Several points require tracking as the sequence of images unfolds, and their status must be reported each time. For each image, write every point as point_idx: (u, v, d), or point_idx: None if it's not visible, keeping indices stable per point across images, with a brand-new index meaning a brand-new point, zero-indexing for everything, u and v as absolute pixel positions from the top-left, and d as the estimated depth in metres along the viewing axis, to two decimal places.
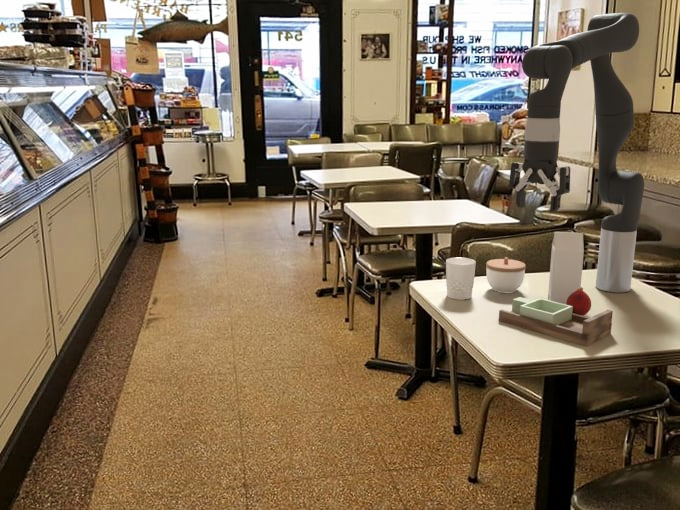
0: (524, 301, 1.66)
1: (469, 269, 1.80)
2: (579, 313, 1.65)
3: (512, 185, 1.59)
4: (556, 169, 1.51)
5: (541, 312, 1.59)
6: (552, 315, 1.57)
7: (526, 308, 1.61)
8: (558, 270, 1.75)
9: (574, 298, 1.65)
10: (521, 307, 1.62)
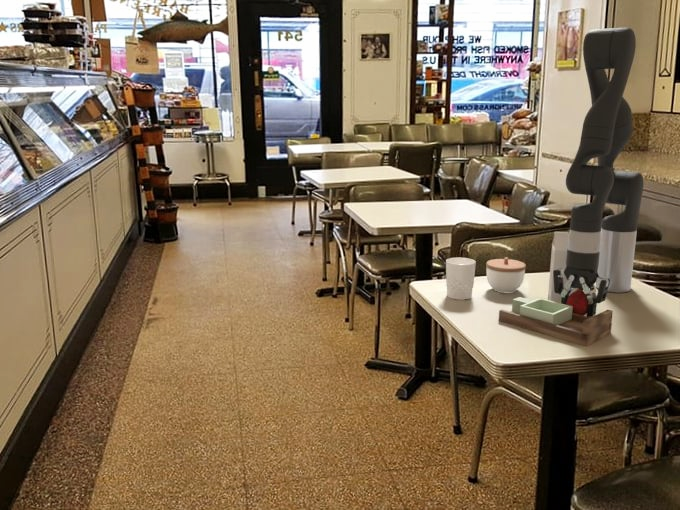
0: (524, 301, 1.66)
1: (469, 269, 1.80)
2: (579, 313, 1.65)
3: (557, 290, 1.69)
4: (597, 279, 1.62)
5: (541, 312, 1.59)
6: (552, 315, 1.57)
7: (526, 308, 1.61)
8: None
9: (574, 298, 1.65)
10: (521, 307, 1.62)
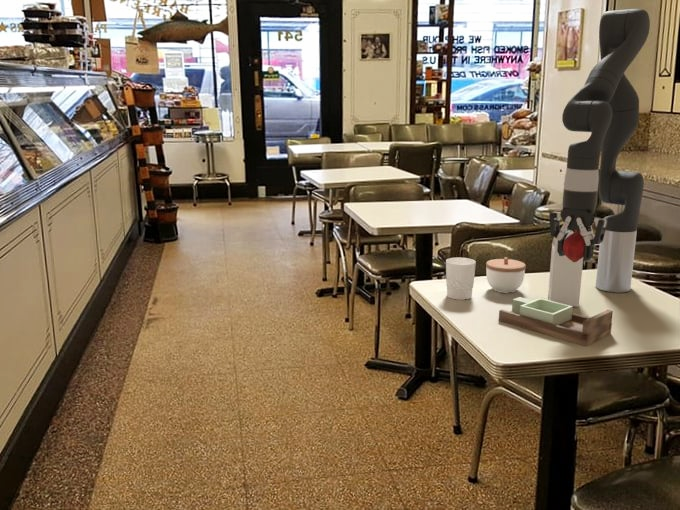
0: (524, 301, 1.66)
1: (469, 269, 1.80)
2: (576, 256, 1.60)
3: (554, 234, 1.64)
4: (594, 219, 1.57)
5: (541, 312, 1.59)
6: (552, 315, 1.57)
7: (526, 308, 1.61)
8: (558, 270, 1.75)
9: (571, 240, 1.60)
10: (521, 307, 1.62)
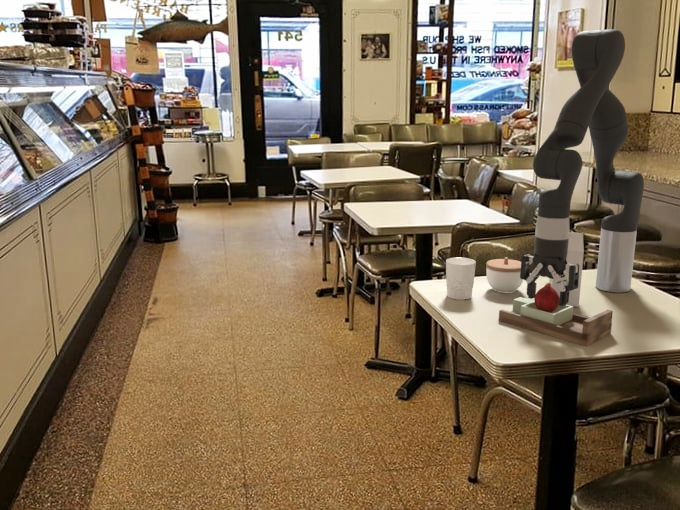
0: (525, 301, 1.66)
1: (469, 269, 1.80)
2: (547, 309, 1.60)
3: (523, 277, 1.64)
4: (566, 266, 1.56)
5: (542, 312, 1.58)
6: (553, 315, 1.56)
7: (527, 308, 1.61)
8: None
9: (542, 294, 1.60)
10: (522, 307, 1.62)
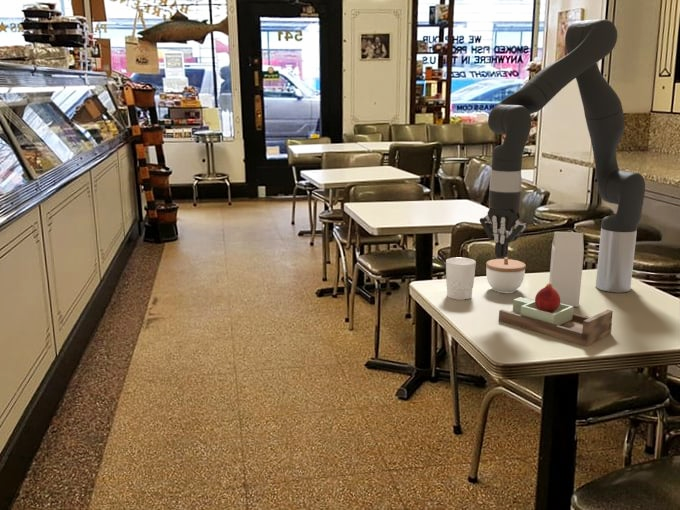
0: (525, 301, 1.66)
1: (469, 269, 1.80)
2: (548, 310, 1.60)
3: (491, 236, 1.69)
4: (516, 221, 1.64)
5: (542, 312, 1.58)
6: (553, 315, 1.56)
7: (527, 308, 1.61)
8: (558, 270, 1.75)
9: (543, 295, 1.60)
10: (522, 307, 1.62)
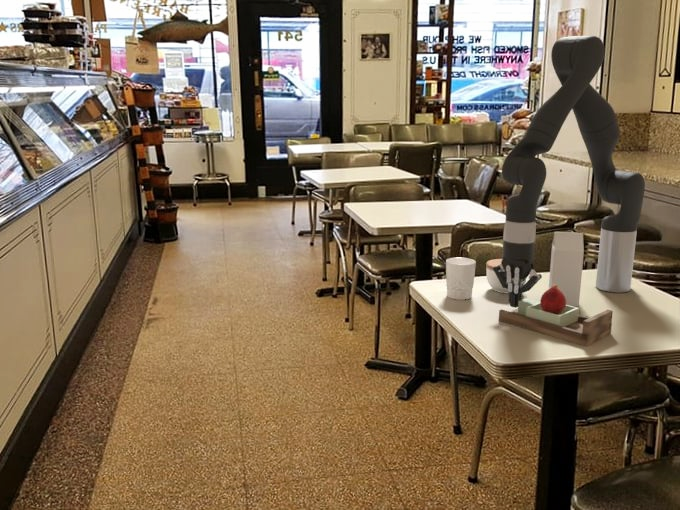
0: (530, 303, 1.65)
1: (469, 269, 1.80)
2: (553, 312, 1.59)
3: (505, 285, 1.69)
4: (530, 271, 1.63)
5: (547, 314, 1.57)
6: (559, 317, 1.55)
7: (532, 310, 1.60)
8: (558, 270, 1.75)
9: (548, 296, 1.59)
10: (527, 309, 1.61)
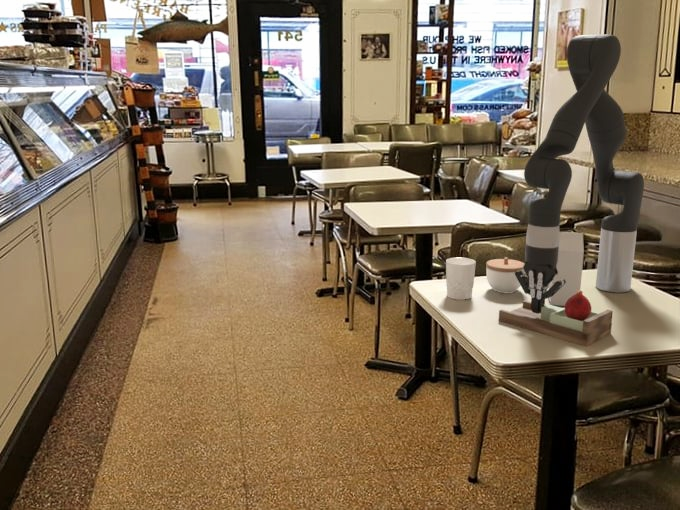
0: (554, 309, 1.60)
1: (469, 269, 1.80)
2: (578, 318, 1.55)
3: (527, 290, 1.64)
4: (554, 277, 1.59)
5: (573, 321, 1.53)
6: None
7: (556, 316, 1.56)
8: (558, 270, 1.75)
9: (573, 303, 1.54)
10: (551, 315, 1.57)
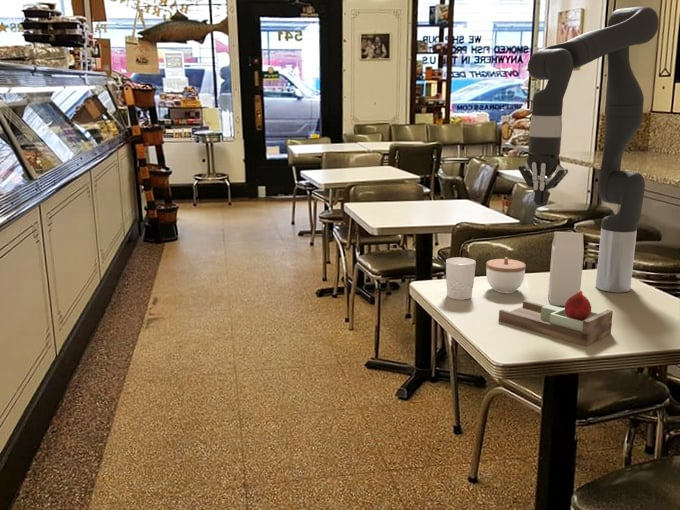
0: (554, 309, 1.60)
1: (469, 269, 1.80)
2: (578, 318, 1.55)
3: (530, 183, 1.69)
4: (557, 166, 1.64)
5: (573, 321, 1.53)
6: None
7: (556, 316, 1.56)
8: (558, 270, 1.75)
9: (573, 302, 1.54)
10: (551, 315, 1.57)
